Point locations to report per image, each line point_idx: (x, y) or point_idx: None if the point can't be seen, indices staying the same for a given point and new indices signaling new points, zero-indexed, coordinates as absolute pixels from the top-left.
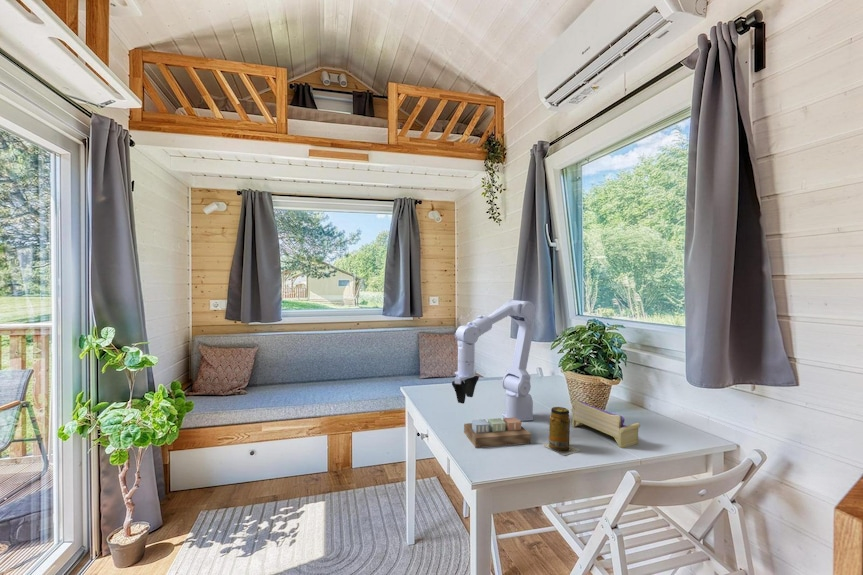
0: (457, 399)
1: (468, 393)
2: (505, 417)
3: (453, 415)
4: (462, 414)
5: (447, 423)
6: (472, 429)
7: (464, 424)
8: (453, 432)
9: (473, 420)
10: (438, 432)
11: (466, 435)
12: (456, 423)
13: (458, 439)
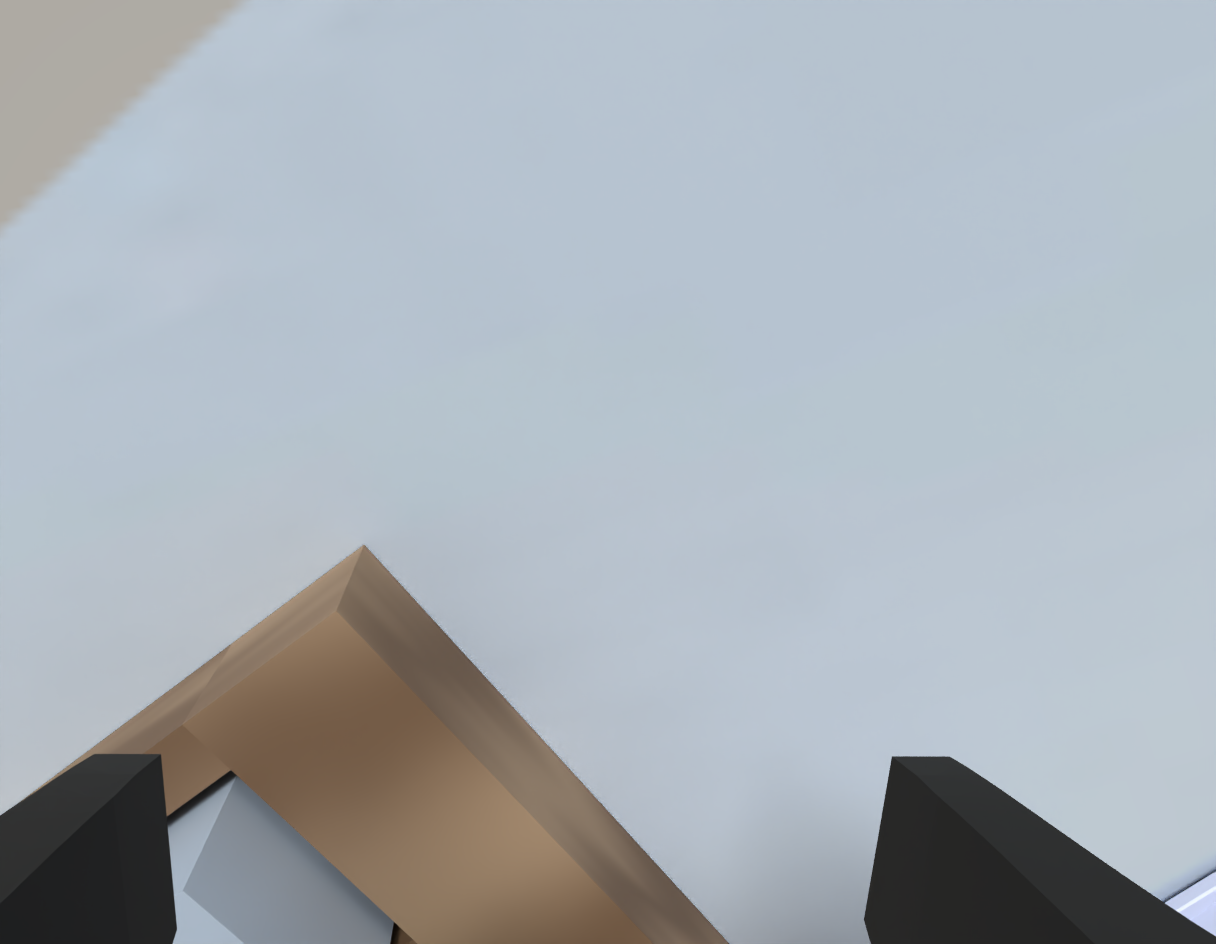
0: (10, 814)
1: (927, 898)
2: (1198, 887)
3: (1085, 64)
4: (1189, 215)
5: (623, 117)
6: (210, 796)
7: (320, 620)
8: (272, 387)
9: (186, 915)
10: (111, 131)
11: (254, 627)
12: (698, 280)
13: (50, 565)
